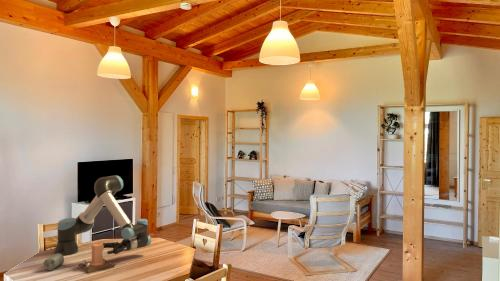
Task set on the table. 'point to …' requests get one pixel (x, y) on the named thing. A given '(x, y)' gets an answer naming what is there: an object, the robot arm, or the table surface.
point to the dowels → (85, 264)
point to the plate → (94, 269)
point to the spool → (53, 261)
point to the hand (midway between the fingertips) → (97, 251)
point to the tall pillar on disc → (97, 255)
